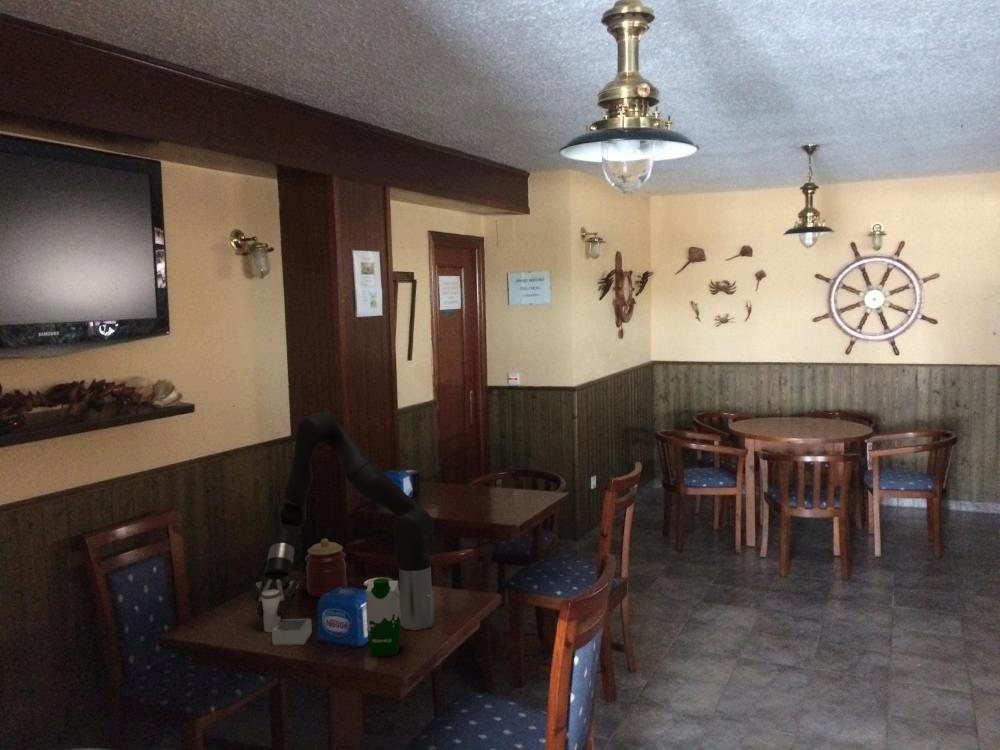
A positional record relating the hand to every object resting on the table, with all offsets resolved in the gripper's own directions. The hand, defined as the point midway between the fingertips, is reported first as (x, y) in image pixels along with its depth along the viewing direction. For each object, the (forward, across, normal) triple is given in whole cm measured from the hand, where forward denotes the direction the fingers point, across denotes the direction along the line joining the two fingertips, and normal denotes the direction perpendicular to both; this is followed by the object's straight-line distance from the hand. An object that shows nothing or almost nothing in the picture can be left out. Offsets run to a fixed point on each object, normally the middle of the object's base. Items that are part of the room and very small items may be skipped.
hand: (269, 615), depth 239 cm
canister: (-20, +8, +28) cm, 35 cm away
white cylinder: (+2, 0, +5) cm, 5 cm away
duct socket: (+7, +8, 0) cm, 11 cm away
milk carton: (+14, +36, -6) cm, 39 cm away
